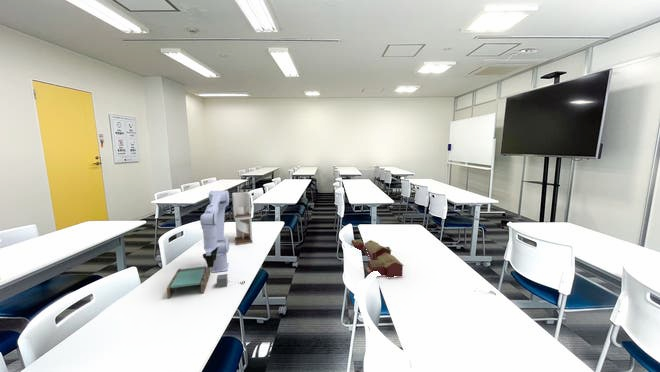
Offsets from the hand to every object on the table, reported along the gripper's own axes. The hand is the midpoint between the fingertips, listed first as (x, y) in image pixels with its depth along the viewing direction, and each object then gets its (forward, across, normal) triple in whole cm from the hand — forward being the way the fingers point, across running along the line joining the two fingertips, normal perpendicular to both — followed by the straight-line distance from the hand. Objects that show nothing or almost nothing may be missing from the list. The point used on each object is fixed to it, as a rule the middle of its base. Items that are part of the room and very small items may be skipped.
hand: (212, 263), depth 129 cm
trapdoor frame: (+10, +2, +10) cm, 15 cm away
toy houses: (+11, +4, -88) cm, 89 cm away
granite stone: (+10, -3, -5) cm, 12 cm away
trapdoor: (+7, 0, +10) cm, 13 cm away
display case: (+11, +57, -11) cm, 59 cm away
